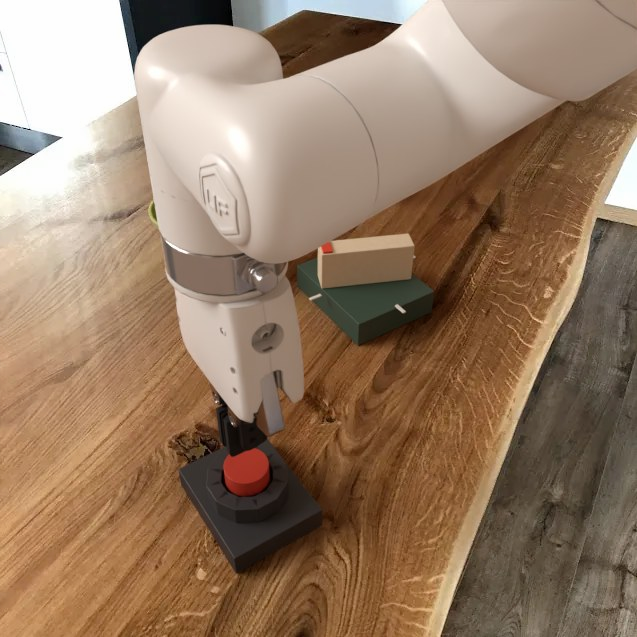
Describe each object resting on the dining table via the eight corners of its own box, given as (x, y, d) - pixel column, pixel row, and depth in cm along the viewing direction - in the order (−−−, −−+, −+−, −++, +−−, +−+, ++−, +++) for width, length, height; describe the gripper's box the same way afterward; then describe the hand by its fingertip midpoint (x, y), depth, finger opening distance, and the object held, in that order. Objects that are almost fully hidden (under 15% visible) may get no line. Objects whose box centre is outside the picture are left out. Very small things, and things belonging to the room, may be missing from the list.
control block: (322, 525, 60) (322, 496, 57) (236, 574, 57) (232, 545, 54) (261, 445, 66) (259, 415, 64) (180, 484, 63) (175, 455, 60)
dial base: (452, 311, 81) (456, 288, 79) (347, 359, 75) (348, 336, 73) (376, 248, 90) (377, 226, 88) (276, 287, 84) (275, 265, 82)
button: (278, 483, 59) (277, 470, 58) (238, 504, 57) (237, 490, 56) (255, 453, 61) (254, 440, 60) (217, 473, 59) (215, 459, 58)
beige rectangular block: (405, 266, 82) (409, 231, 79) (411, 279, 80) (415, 243, 77) (317, 275, 80) (317, 240, 77) (321, 289, 79) (321, 253, 75)
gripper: (347, 289, 41) (339, 488, 53) (222, 175, 50) (240, 365, 62) (228, 338, 38) (248, 537, 50) (119, 207, 47) (158, 401, 59)
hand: (243, 441), depth 56 cm, fingers closed
